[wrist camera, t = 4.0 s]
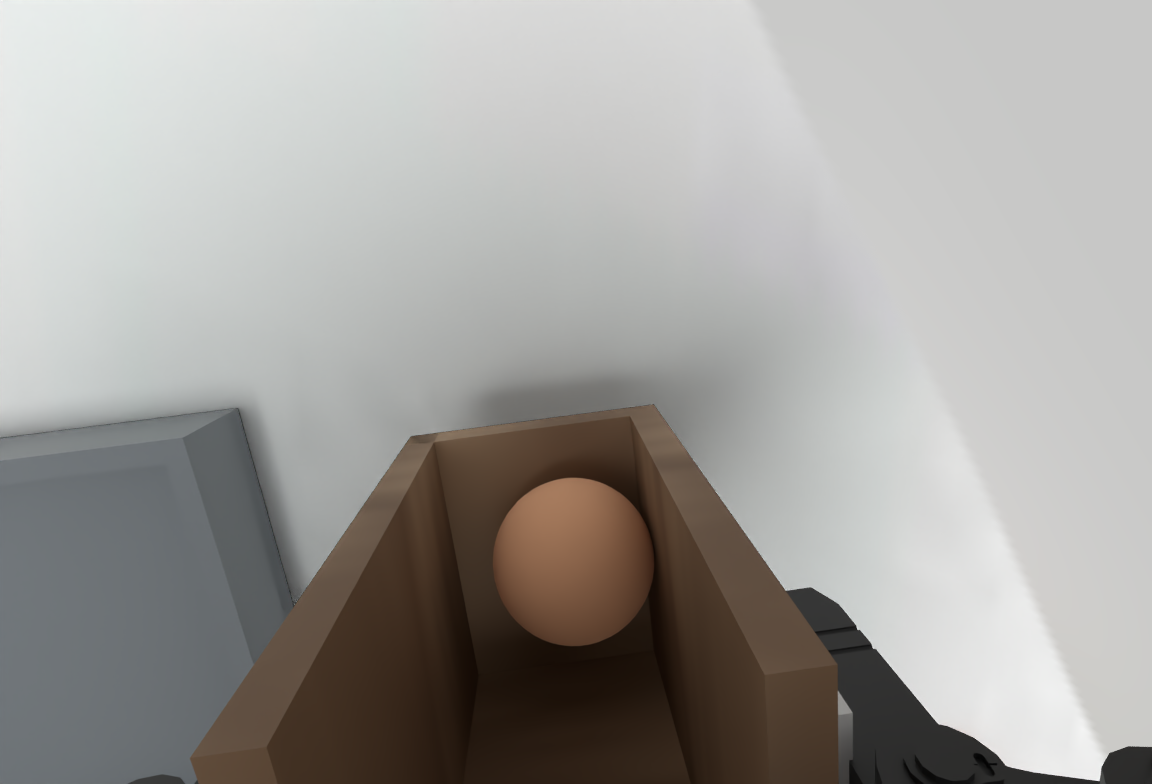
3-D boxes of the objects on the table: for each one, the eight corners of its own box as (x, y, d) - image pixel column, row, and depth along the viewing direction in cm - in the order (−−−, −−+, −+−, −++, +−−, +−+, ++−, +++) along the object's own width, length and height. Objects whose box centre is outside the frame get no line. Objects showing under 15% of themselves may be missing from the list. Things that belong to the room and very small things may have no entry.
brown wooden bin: (459, 682, 14) (357, 1233, 6) (410, 436, 12) (191, 757, 5) (675, 651, 14) (841, 1153, 6) (653, 404, 12) (836, 665, 5)
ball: (521, 703, 10) (524, 600, 8) (476, 569, 12) (471, 465, 11) (670, 647, 11) (700, 544, 9) (603, 532, 13) (618, 432, 12)
